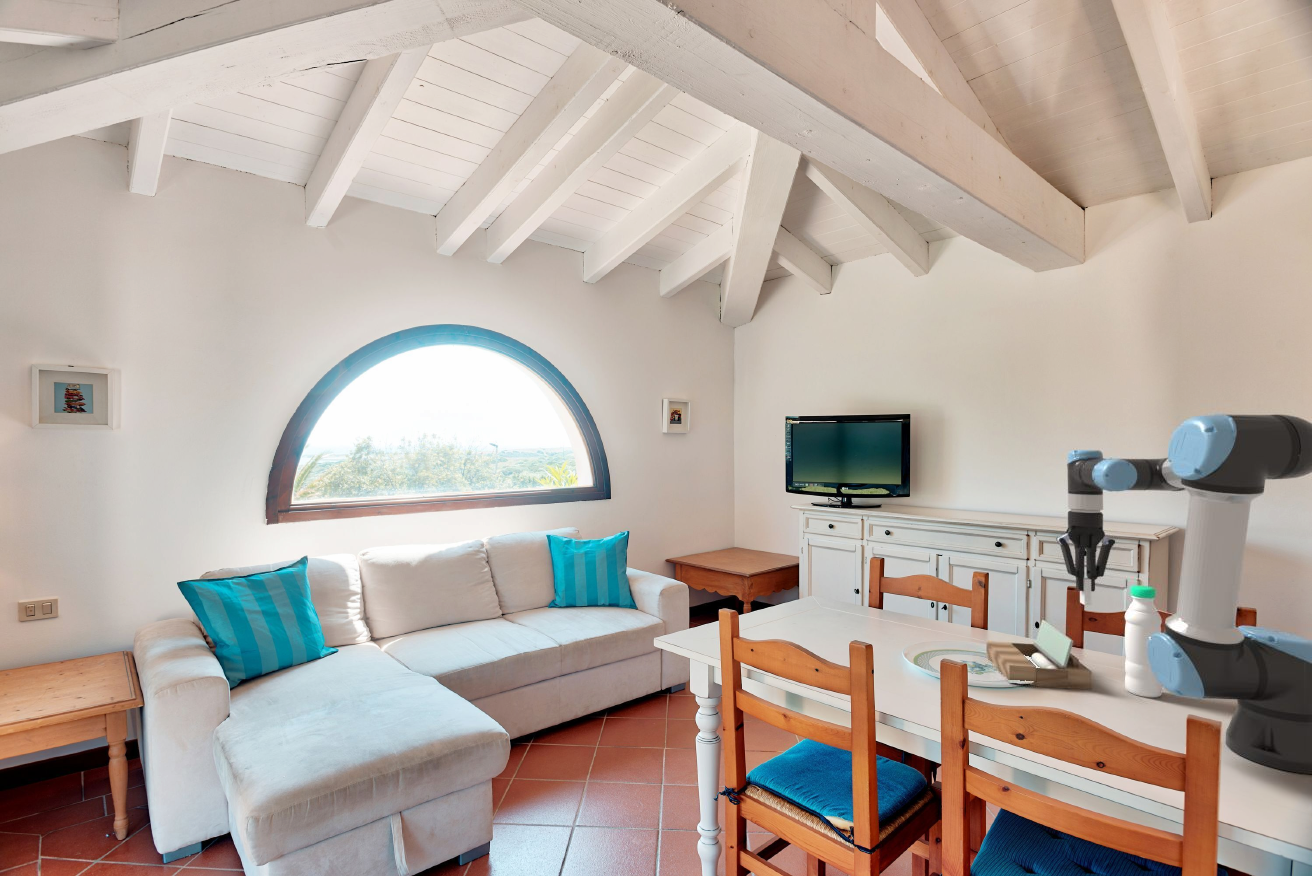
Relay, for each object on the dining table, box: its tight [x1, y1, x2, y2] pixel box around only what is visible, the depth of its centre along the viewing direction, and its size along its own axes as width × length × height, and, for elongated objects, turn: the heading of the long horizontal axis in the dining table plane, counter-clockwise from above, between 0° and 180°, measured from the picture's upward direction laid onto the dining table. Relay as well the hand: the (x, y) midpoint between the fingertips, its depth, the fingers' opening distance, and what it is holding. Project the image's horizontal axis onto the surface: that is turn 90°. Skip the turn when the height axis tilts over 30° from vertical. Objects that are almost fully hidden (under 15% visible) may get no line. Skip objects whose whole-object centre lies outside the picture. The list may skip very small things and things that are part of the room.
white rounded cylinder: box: [1031, 653, 1058, 669], centre depth 170 cm, size 13×3×3 cm, turn 168°
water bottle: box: [1124, 585, 1163, 699], centre depth 157 cm, size 7×7×25 cm
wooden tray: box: [985, 640, 1092, 690], centre depth 171 cm, size 21×18×6 cm
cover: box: [1032, 619, 1074, 669], centre depth 170 cm, size 19×8×1 cm
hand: (1085, 603), depth 168 cm, fingers closed
